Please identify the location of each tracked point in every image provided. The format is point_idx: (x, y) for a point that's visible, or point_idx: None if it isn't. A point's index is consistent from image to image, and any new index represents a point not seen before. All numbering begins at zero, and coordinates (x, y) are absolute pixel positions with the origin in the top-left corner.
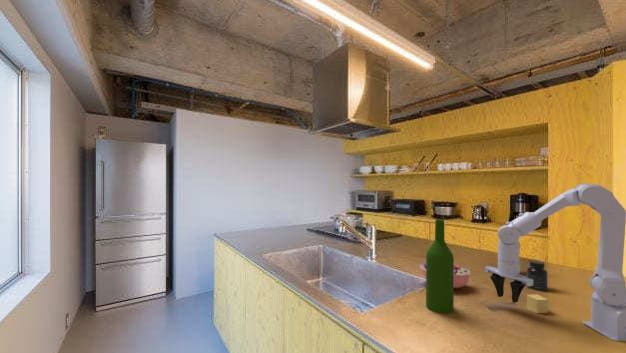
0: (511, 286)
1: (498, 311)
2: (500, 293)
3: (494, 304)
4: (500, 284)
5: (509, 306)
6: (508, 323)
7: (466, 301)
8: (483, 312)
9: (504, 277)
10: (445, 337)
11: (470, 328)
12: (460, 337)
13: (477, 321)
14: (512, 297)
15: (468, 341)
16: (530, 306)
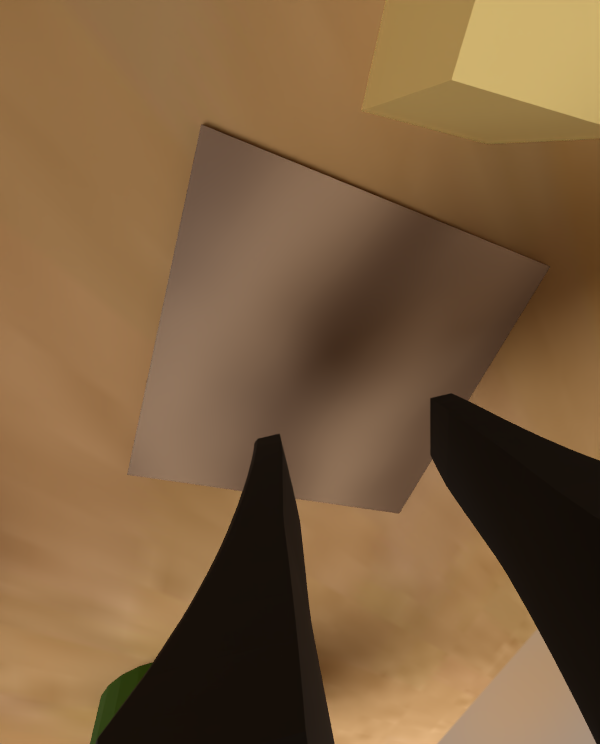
0: (590, 704)
1: (321, 460)
2: (294, 507)
3: (202, 400)
4: (310, 634)
5: (273, 290)
6: (449, 500)
7: (102, 553)
8: None
9: (314, 728)
10: (402, 730)
11: (396, 660)
12: (424, 701)
13: (363, 616)
14: (470, 508)
15: (453, 691)
16: (433, 117)
